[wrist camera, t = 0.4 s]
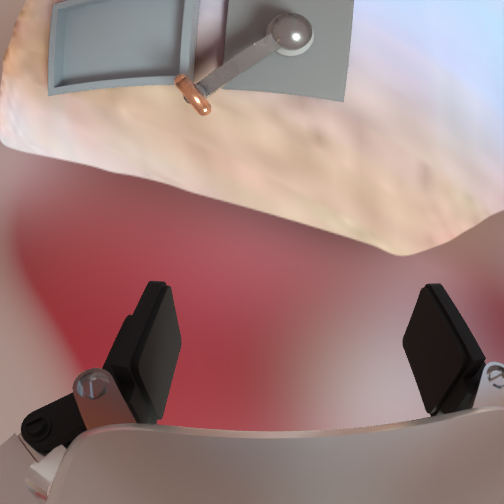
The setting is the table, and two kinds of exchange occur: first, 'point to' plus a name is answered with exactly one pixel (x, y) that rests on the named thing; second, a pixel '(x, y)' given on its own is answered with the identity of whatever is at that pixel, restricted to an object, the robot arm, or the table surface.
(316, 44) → the crank base
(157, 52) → the tray
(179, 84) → the crank
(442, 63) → the table surface
